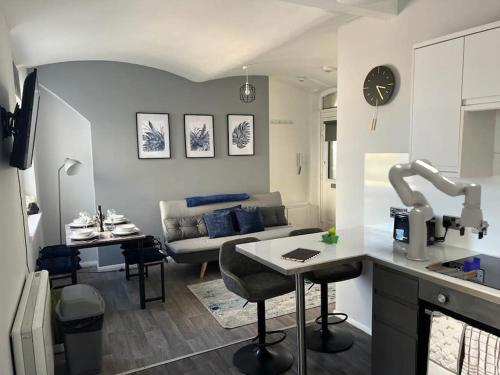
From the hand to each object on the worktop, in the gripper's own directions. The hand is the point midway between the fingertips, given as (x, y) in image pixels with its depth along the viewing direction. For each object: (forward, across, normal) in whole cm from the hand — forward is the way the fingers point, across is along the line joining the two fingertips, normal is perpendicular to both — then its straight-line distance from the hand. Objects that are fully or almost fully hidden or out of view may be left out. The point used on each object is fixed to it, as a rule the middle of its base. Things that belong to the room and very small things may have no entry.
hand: (471, 237), depth 207 cm
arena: (+18, -2, -14) cm, 23 cm away
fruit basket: (+18, -89, -18) cm, 93 cm away
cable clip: (+18, 0, 0) cm, 19 cm away
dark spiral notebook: (+19, -74, -58) cm, 96 cm away
